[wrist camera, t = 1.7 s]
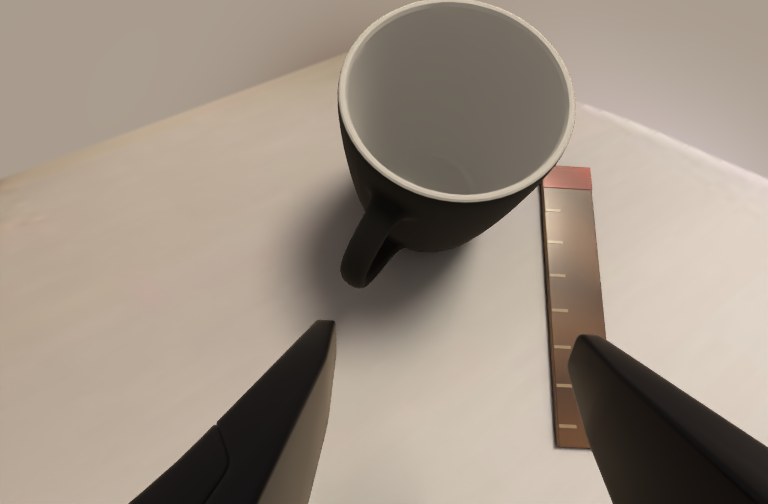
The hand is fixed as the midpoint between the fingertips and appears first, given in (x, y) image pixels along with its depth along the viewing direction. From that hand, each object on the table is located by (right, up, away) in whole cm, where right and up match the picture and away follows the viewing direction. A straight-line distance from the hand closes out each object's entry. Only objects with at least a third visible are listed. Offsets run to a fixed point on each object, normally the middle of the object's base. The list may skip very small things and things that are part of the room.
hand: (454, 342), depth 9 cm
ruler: (+9, 0, +14) cm, 17 cm away
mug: (0, +4, +16) cm, 16 cm away
